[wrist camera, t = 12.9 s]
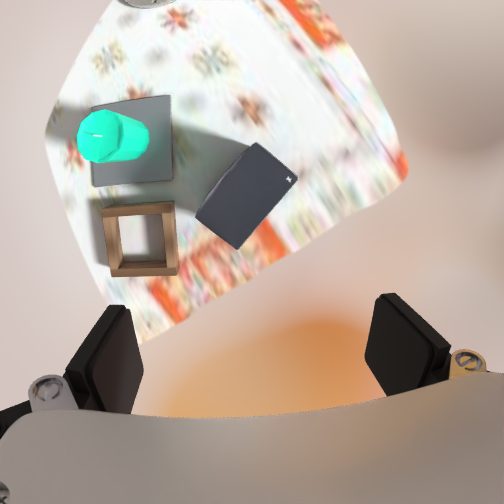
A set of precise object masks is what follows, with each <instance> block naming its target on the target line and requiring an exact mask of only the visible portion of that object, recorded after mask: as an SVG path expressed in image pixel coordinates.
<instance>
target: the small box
mask: <svg viewBox="0 0 504 504" xmlns="http://www.w3.org/2000/svg"><path fill="white" fill-rule="evenodd" d="M297 180H298V176H297V175H296V174H294V173H293V172H292V171H291V170H290V169H289V168H287V167H286V166H285V165H284V164H283V163H282V162H280V161H279V160H278V159H277V158H276V157H274V156H273V155H272V154H271V153H270V152H268V151H267V150H266V149H265V148H264V147H262V146H261V145H260V144H259V143H257V142H255V143H254V144H253V145H252V146H250V147H249V148H248V149H246V150H245V151H244V152H243V153H242V154H241V155H240V156H239V158H238V159H237V160H236V161H235V162H234V163H233V164H232V166H231V167H230V168H229V169H228V170H227V171H226V172H225V174H224V175H223V176H222V177H221V178H220V180H219V181H218V182H217V183H216V185H215V186H214V187H213V189H212V190H211V191H210V193H209V194H208V195H207V197H206V198H205V200H204V202H203V203H202V205H201V206H200V208H199V210H198V212H197V214H196V215H195V218H196V219H197V220H199V221H200V222H201V223H202V224H203V225H205V226H206V227H207V228H209V229H210V230H211V231H212V232H214V233H215V234H216V235H218V236H219V237H220V238H222V239H223V240H224V241H226V242H227V243H228V244H230V245H231V246H232V247H234V248H235V249H236V250H238V249H239V248H240V247H241V246H242V245H243V244H244V242H245V241H246V240H247V239H248V238H249V237H250V235H251V234H252V233H253V232H254V231H255V230H256V228H257V227H258V226H259V225H260V224H261V222H262V221H263V220H264V219H265V218H266V217H267V215H268V214H269V213H270V212H271V211H272V210H273V208H274V207H275V206H276V205H277V204H278V203H279V201H280V200H281V199H282V198H283V197H284V196H285V194H286V193H287V192H288V191H289V190H290V189H291V187H292V186H293V185H294V184H295V183H296V182H297Z"/></svg>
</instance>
